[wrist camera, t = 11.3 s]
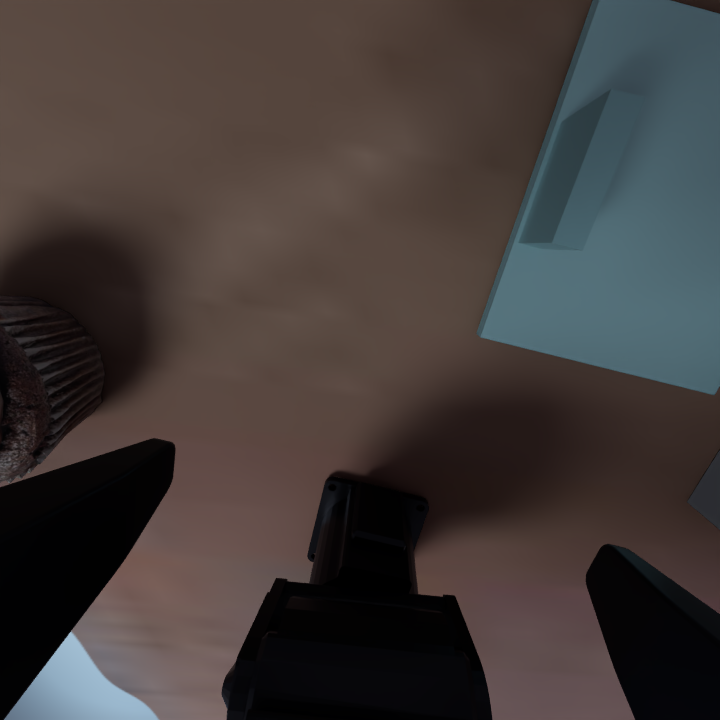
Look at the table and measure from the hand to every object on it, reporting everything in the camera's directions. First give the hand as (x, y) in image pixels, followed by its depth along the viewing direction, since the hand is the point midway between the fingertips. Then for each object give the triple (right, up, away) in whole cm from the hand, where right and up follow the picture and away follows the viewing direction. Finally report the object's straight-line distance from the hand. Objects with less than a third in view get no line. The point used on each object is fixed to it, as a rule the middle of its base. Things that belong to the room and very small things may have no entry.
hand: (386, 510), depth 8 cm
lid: (+13, +10, +10) cm, 19 cm away
